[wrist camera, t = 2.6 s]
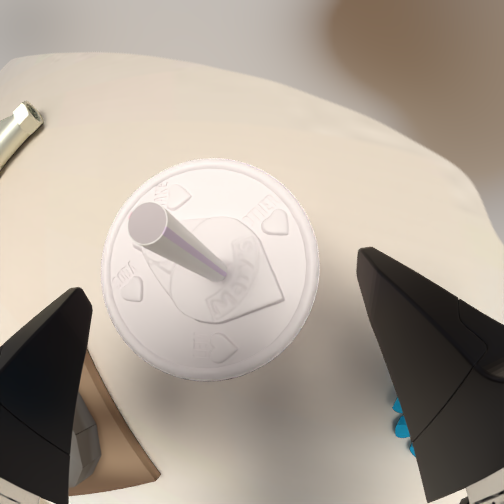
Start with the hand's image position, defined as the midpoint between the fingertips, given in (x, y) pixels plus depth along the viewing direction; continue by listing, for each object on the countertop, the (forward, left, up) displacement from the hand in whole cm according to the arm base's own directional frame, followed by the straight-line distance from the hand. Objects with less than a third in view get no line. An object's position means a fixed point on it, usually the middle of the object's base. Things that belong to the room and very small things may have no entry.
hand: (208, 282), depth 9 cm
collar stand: (-2, +18, -9) cm, 20 cm away
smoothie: (0, 0, -9) cm, 9 cm away
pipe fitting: (+26, +14, -9) cm, 31 cm away
